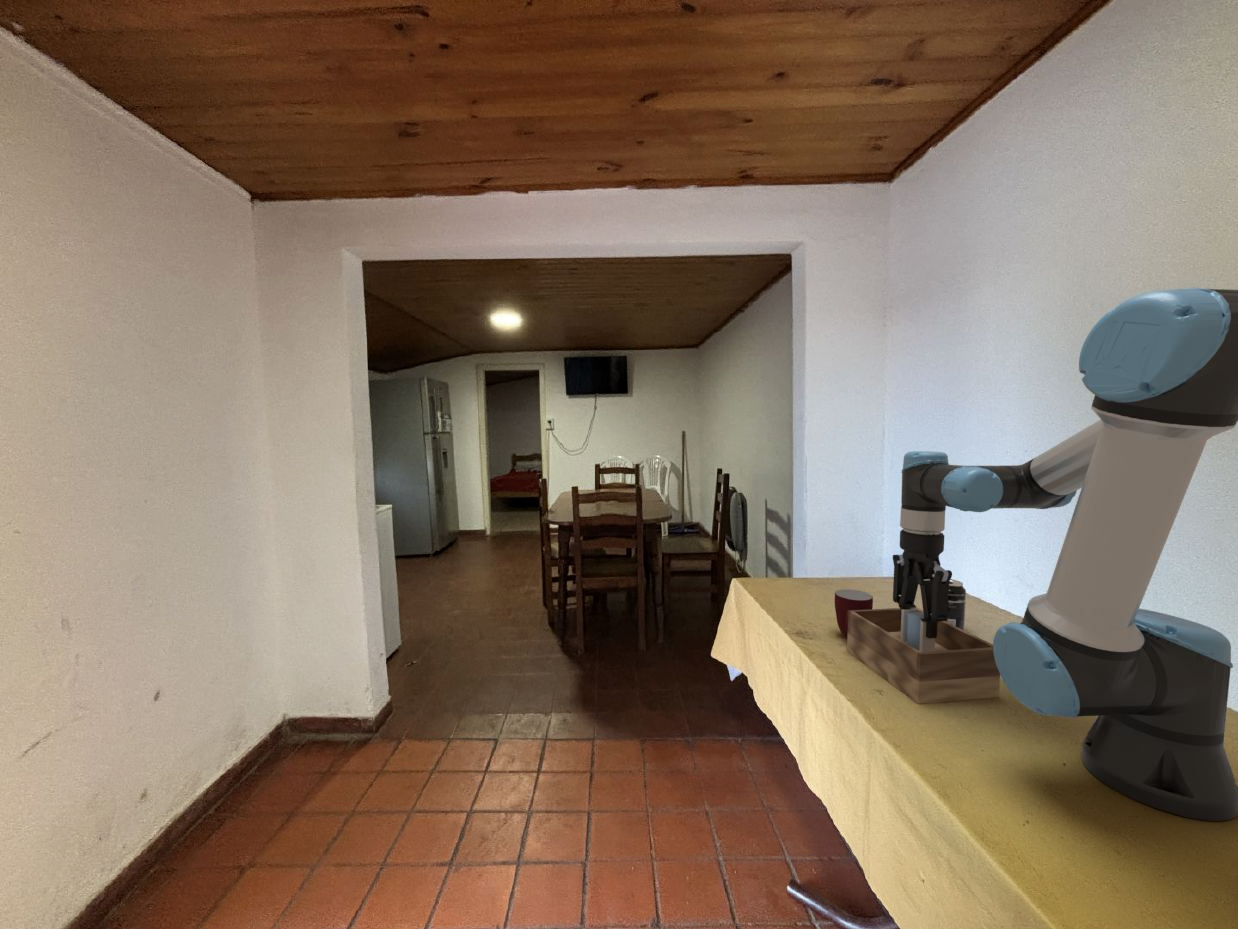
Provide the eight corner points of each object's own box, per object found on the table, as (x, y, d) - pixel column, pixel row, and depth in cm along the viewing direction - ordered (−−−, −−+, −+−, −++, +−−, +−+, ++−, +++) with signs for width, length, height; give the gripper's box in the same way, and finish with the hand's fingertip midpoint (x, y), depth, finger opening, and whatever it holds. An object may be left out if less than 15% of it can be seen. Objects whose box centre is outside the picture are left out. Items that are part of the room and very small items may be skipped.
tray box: (998, 697, 95) (1001, 648, 94) (918, 704, 93) (920, 654, 92) (913, 646, 117) (915, 607, 116) (846, 651, 114) (848, 610, 114)
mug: (872, 650, 115) (874, 606, 114) (832, 644, 118) (834, 600, 117) (870, 633, 124) (872, 591, 123) (833, 628, 127) (835, 587, 127)
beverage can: (928, 624, 130) (930, 576, 129) (961, 628, 127) (963, 579, 126) (931, 633, 124) (934, 583, 123) (966, 638, 121) (968, 587, 120)
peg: (914, 678, 103) (916, 618, 102) (901, 669, 106) (903, 611, 105) (930, 677, 103) (933, 617, 102) (917, 668, 107) (920, 610, 106)
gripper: (976, 539, 94) (969, 665, 96) (908, 521, 112) (903, 628, 114) (938, 541, 93) (932, 668, 95) (875, 522, 111) (871, 630, 112)
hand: (916, 646), depth 104 cm, fingers open, 5 cm apart
